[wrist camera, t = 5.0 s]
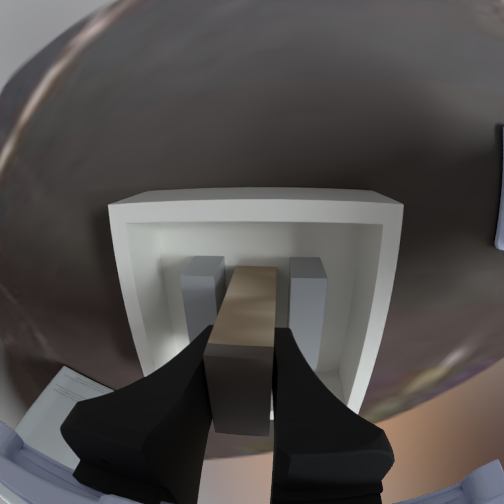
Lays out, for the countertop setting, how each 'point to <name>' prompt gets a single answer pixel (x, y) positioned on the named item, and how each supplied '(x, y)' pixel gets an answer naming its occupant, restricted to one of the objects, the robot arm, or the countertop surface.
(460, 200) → the countertop surface
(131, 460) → the robot arm
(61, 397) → the skincare box
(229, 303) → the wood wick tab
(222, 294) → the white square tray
